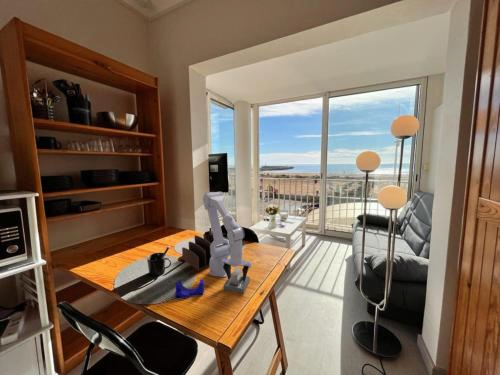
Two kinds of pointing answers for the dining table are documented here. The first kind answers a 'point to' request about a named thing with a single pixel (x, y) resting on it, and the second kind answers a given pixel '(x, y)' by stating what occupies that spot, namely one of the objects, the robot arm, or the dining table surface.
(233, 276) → the long block
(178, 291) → the blue concave cradle block
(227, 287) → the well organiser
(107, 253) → the dining table surface
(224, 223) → the robot arm
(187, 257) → the letter holder
